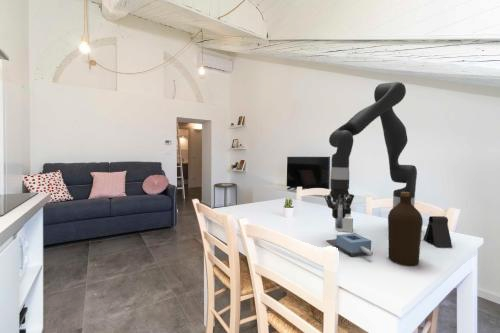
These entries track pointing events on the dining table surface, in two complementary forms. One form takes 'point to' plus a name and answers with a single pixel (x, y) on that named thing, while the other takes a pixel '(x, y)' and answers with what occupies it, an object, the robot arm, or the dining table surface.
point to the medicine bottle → (347, 222)
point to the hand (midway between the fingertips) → (338, 217)
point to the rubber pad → (332, 242)
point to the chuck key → (339, 215)
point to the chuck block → (354, 245)
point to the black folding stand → (438, 232)
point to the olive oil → (404, 232)
